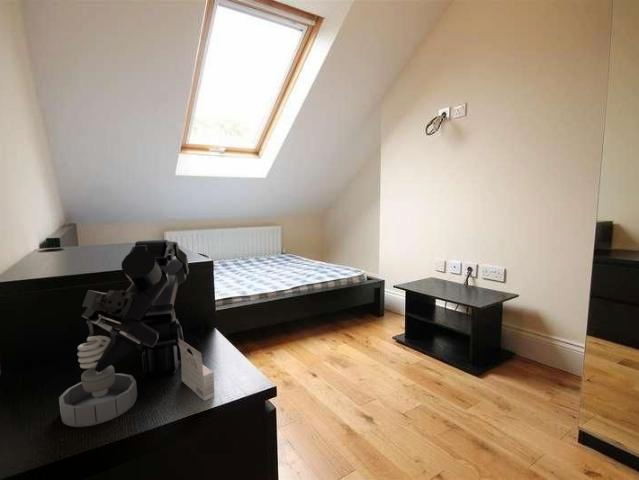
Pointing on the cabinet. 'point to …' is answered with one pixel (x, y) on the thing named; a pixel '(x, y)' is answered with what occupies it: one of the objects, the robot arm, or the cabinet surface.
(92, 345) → the light bulb
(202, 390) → the ink cartridge box
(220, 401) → the cabinet surface
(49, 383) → the cabinet surface
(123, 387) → the bowl
